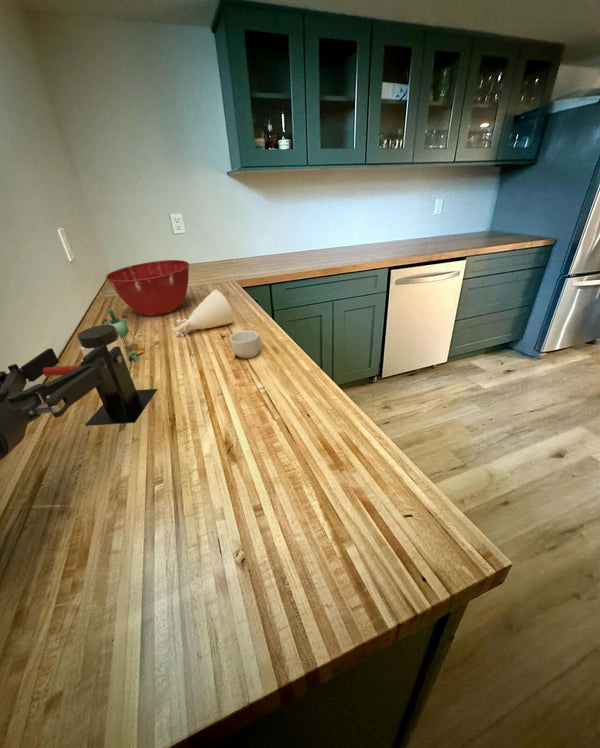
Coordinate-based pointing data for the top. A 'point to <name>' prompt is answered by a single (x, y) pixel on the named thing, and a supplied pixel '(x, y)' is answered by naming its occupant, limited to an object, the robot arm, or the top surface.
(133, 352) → the frog figurine
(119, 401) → the bracket
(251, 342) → the teacup
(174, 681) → the top surface
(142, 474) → the top surface
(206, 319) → the rocket engine
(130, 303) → the mixing bowl
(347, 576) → the top surface
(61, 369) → the lever
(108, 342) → the jar
